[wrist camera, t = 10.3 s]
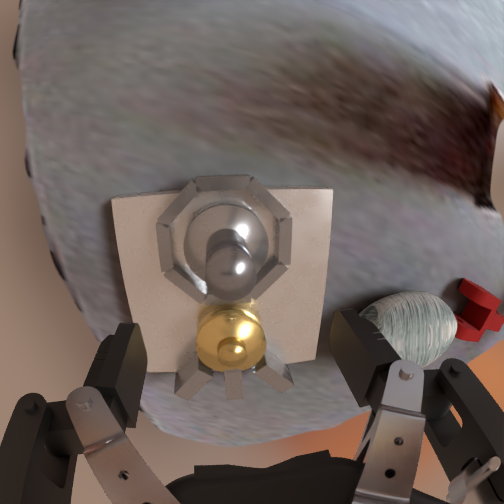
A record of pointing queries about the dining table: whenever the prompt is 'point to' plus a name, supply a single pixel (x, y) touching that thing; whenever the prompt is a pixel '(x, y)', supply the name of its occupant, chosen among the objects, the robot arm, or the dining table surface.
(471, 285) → the mechanical linkage
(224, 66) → the dining table surface
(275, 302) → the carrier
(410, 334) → the streaked stone egg
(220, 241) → the silver knob
